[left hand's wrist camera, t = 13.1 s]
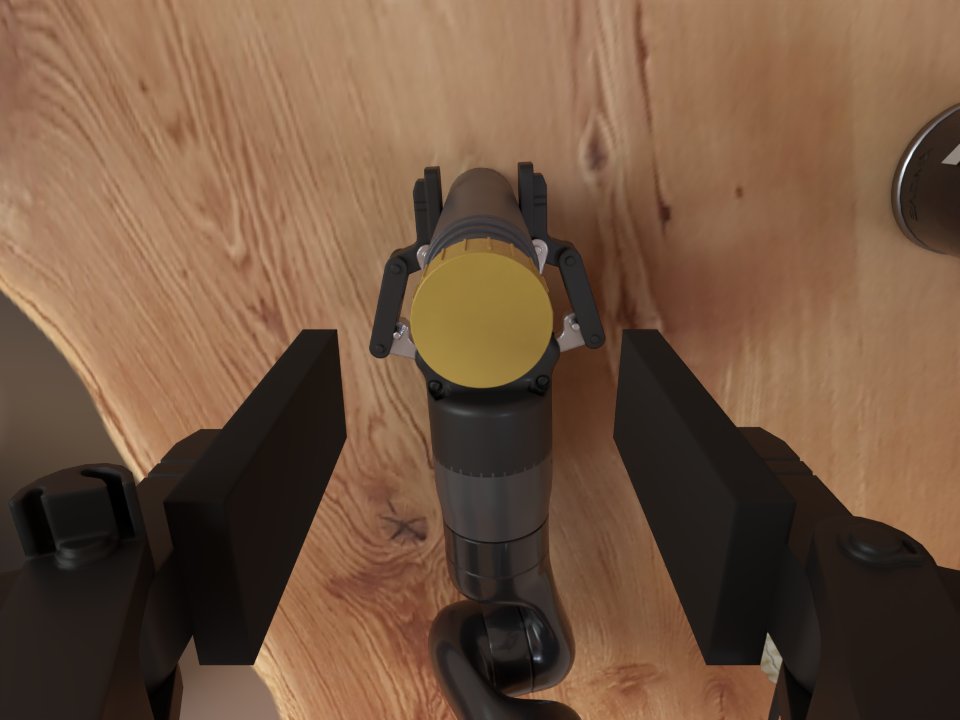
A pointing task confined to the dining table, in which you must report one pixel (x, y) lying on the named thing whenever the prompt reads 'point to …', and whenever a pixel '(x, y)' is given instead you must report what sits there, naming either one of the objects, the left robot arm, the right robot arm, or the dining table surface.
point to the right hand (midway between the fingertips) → (478, 167)
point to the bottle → (481, 214)
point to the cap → (481, 313)
